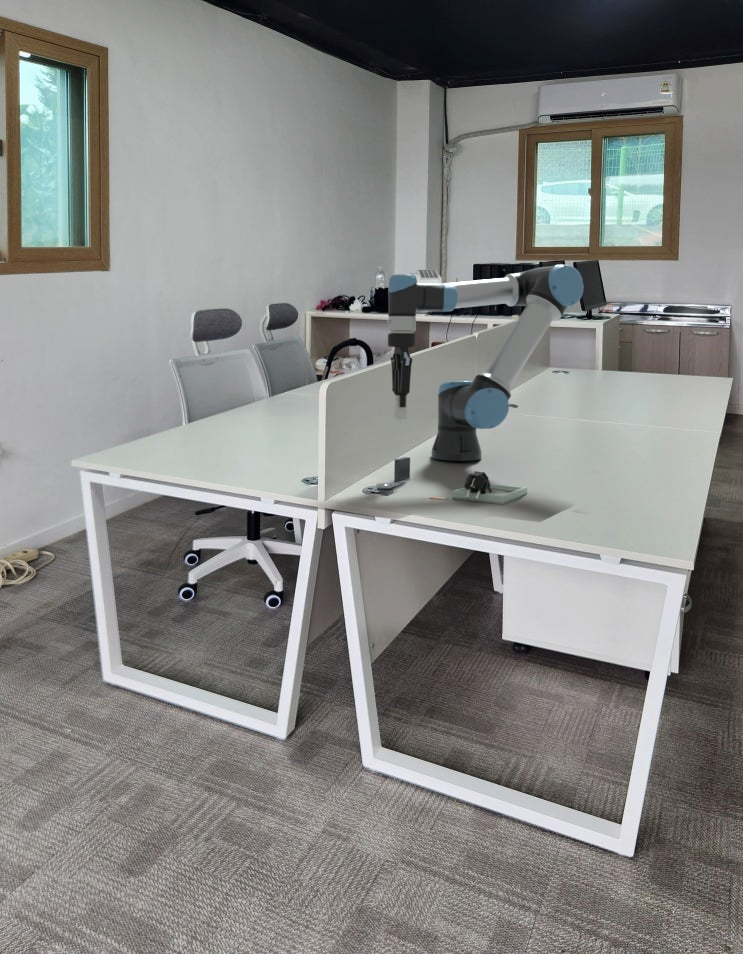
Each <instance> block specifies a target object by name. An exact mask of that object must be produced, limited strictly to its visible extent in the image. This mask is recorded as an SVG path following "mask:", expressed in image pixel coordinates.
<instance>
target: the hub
mask: <svg viewBox="0 0 743 954" xmlns="http://www.w3.org/2000/svg"><path fill="white" fill-rule="evenodd" d="M374 490H377V491H379V492H375V493H374V494H377V493H380V494H379V495H383V494H385V495H384V496H388V495H389V494H391V493H393V494H395V493H394V492H391V490H393V489H392V488H391V489H376V488H375V489H374ZM391 495H392V494H391ZM389 496H390V495H389Z"/></svg>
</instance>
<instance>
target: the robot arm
mask: <svg viewBox="0 0 743 954" xmlns="http://www.w3.org/2000/svg"><path fill="white" fill-rule="evenodd" d="M584 287H585V286H584V282H583V277H582V275H581V273H580V271H579V270H578V269H577V268H575V267H574V266H572V265H570V264H561V263H559V264H556V265H552V266H551V265H550V266H542V267H540V266H539V267H536V268H531V269H528V270H525V271H521V272H515V273H508V274H506V275H505V276H504V277H500V278H499V277H498V278H489V279H477V280H466V281H456V282H442V283H435V282H434V283H433V282H432V283H430V282H429V283H428V282H427V283H423V282H418V280H417V276H416V275H415V274H404V273H401V274H392V275H391V276H389V280H388V289H387V291H388V292H387V295H388V313H387V314H388V319H386V324H388V325H387V326H388V328H387V329H388V330H387V331H388V332H389V333H388V334H387V346H388V347H389V348H394V351H393V353H392V356H391V357H390V363H391V382H392V383H391V384H392V390H391V391H392V392H393V394H394V408H393V409H394V413H393V414H394V415H393V417H394V419H396V420H407V406H408V405H407V404H408V399H407V398H408V394H410V393H411V392H410V390H411V377H412V376H411V374H412V373H411V372H412V363H413V358H412V357H411V354H410V348H415V347H416V334H415V333H414V332H416V330H417V313H428V312H442V313H444V312H452V311H454V310H455V309H461V308H464V309H465V308H472V307H474V308H475V307H482V306H484V307H485V306H491V305H492V306H494V305H501V304H502V305H503V304H505V305H507V306H508V307H519V306H520V307H521V306H522V307H525V308H524V309H523V311H522V312H521V314H520V316H519V317H518V319H517V321H516V322H515V324H514V325H513V327H512V329H511V330H510V332H509V334H508V335H507V336H506V337H505V340H504V341H503V343H502V345H501V346H500V347H499V349H498V351H497V352H496V354H495V356H494V357H493V358H492V360H491V362H490V364H489V365H488V366H487V368H486V370H485V371H483V372H482V373H478V374H476V376H475V377H474V379H473V380H456V381H455V380H454V381H447V382H443V383H440V384H439V387H438V394H437V396H438V398H437V400H438V403H437V404H438V405H437V410H438V411H437V434H436V437H435V440H434V443H433V444H432V449H431V458H433V459H435V460H439V461H452V462H453V461H456V462H458V461H459V462H468V461H469V462H470V461H477V460H478V461H479V460H481V459H482V449H481V446H480V442H479V437H478V434H477V429H478V430H485V429H486V430H487V429H488V430H489V429H493V428H496V427H497V426H499V425H501V424H502V423H503V422H504V420H505V419H506V418H507V417H508V414H509V409H510V408H509V400H510V399H511V397H512V392H511V387H512V386H513V384H514V382H515V381H516V379H517V377H518V376H519V374H520V373H521V371H522V370H523V368H524V366H525V365H526V364H527V361H528V360H529V358H530V356H531V355H532V354H533V352H534V351H535V349H536V347H537V346H538V344H539V342H540V341H541V340H542V337H543V336H544V335H545V333H546V331H547V329H548V328H549V327H550V325H551V323H552V322H553V321H557V320H559V319H561V318H562V316H563V314H564V313H565V311H566V310H567V309H568V307H572V306H574V305H575V304H577V303H578V302H579V301H580V300H581V298H582V297H583V294H584Z"/></svg>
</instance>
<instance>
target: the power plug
mask: <svg viewBox="0 0 743 954" xmlns="http://www.w3.org/2000/svg"><path fill="white" fill-rule="evenodd" d="M490 484H491V483H490V480H489V476H488V475H487V474H486V472H484V471H476V470H475V471H473V473H470V474H468V475H467V477H466V479H465V482H464V486H463V487H465V489H467V490H468V492H467V495H466V498H469V496H470V493H471V492H474V493H477V494H476V497H475V499H476V500H478V498H479V495H480V493H483V494H485V493H487V490H488V493H493V490H492V488H490Z"/></svg>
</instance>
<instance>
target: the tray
mask: <svg viewBox="0 0 743 954" xmlns="http://www.w3.org/2000/svg"><path fill="white" fill-rule="evenodd" d="M490 489H496V490H502V491H509V492H508V493H506V492H505V493H502V492H501V493H499V492H497V493H496V492H491V493H490V492H486V493H485V494H483V493H480V495H479V498H478V500H476V499H475V497H476V494H477V493H474V492H471V493H470V496H469V498H466V495H467V492H468V490H467V489H465V487H464V486H463V487H461V488H458V489H455V490H452V499H454V500H461V501H470V502H478V503H488V504H498V505H505V504H509V503H511V502H513V501H516V500H518V499H520V498H521V497H522V496H524V495H526V494H528V487H527V486H517V485H516V486H515V485H507V484H505V485H504V484H496V483H490Z"/></svg>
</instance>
